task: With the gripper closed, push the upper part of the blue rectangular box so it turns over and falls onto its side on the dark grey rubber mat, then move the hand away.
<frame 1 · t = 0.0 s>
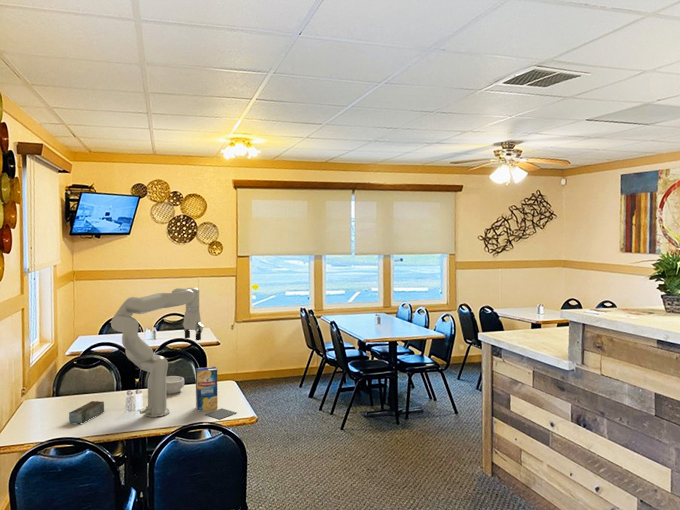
hand: (192, 339, 307), 37 cm above the table, tool pointing down, fingers open, 9 cm apart
paper bowls: (171, 392, 330), on the table
blue rectangular box: (206, 408, 299), on the table
rubber mat: (220, 414, 289), on the table
dark grey rectangular block: (87, 418, 283), on the table
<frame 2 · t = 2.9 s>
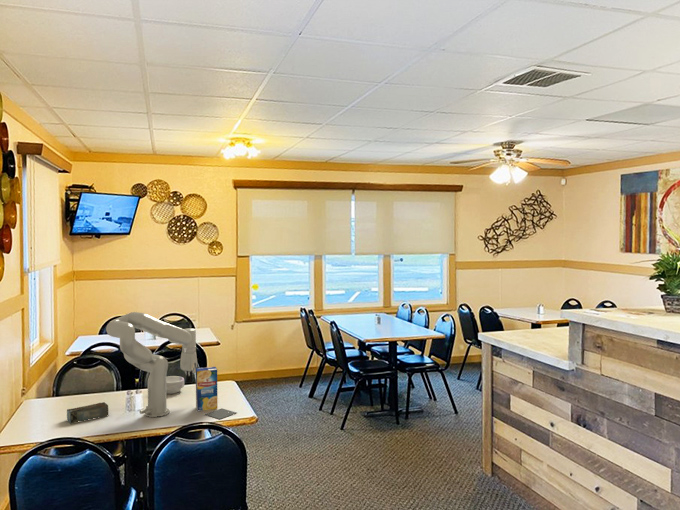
hand: (189, 381, 307), 12 cm above the table, tool pointing down, fingers closed
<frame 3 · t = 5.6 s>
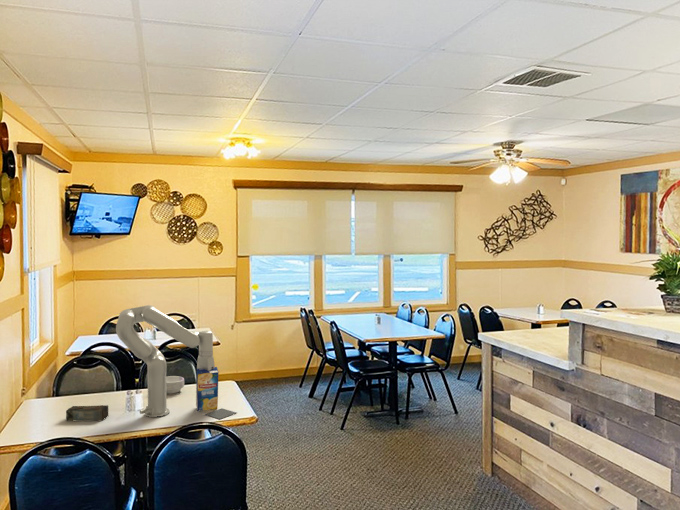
hand: (206, 386, 299), 12 cm above the table, tool pointing down, fingers closed
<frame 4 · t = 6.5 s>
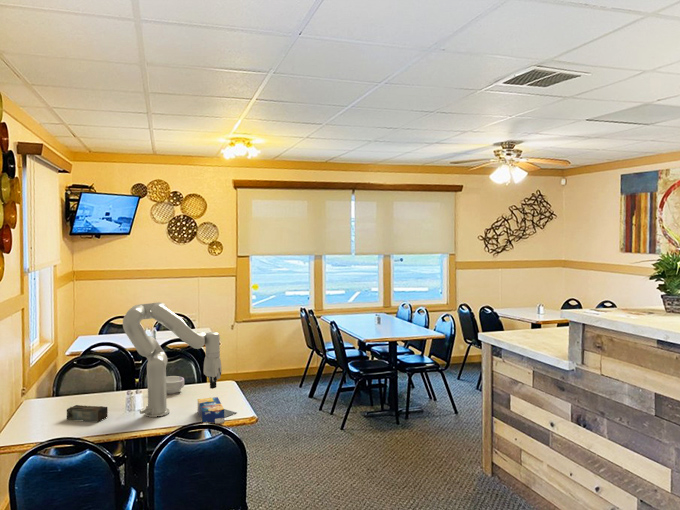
hand: (213, 387, 295), 12 cm above the table, tool pointing down, fingers closed
blue rectangular box: (207, 404, 295), point 3 cm above the table
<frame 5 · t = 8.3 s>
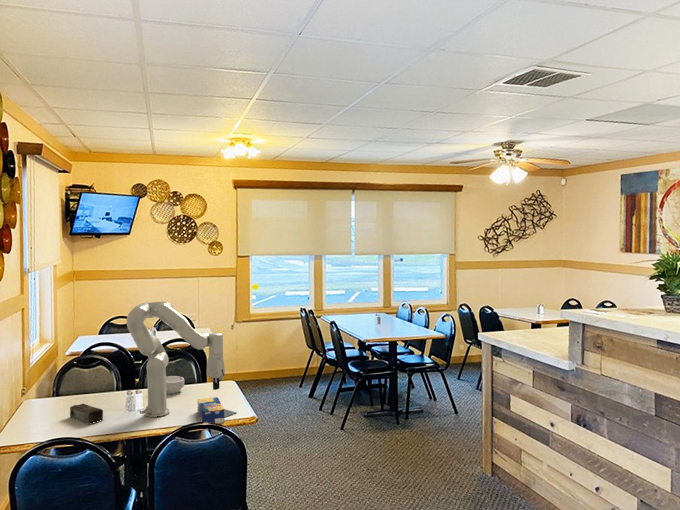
hand: (216, 389, 294), 12 cm above the table, tool pointing down, fingers closed
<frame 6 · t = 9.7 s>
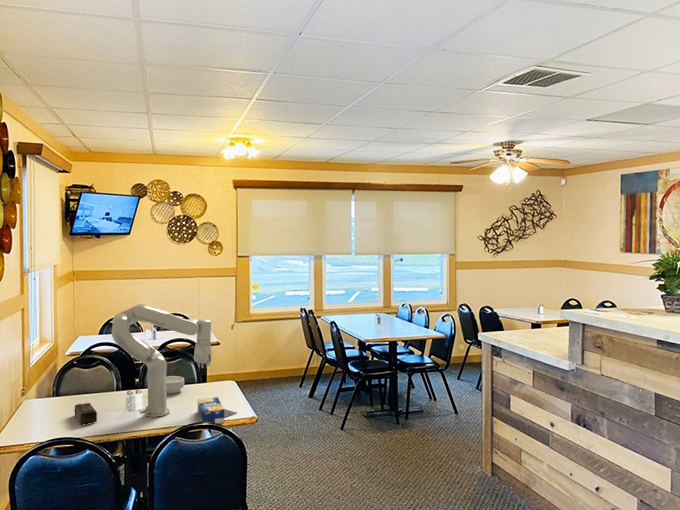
hand: (202, 374, 299), 19 cm above the table, tool pointing down, fingers closed
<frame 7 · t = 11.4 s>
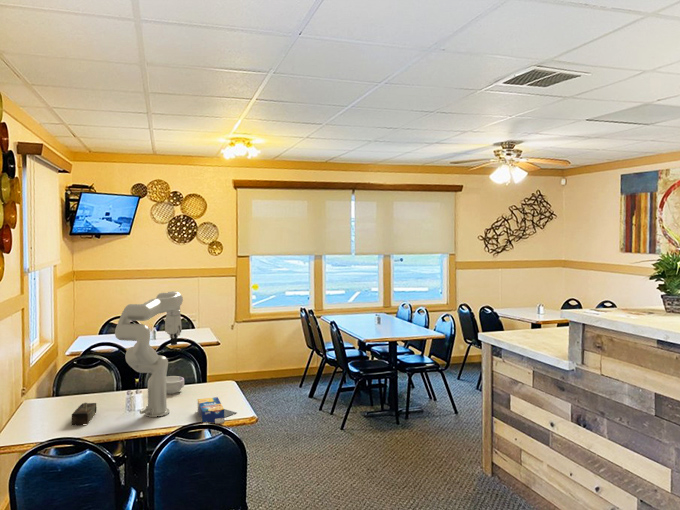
hand: (173, 344, 309), 33 cm above the table, tool pointing down, fingers closed
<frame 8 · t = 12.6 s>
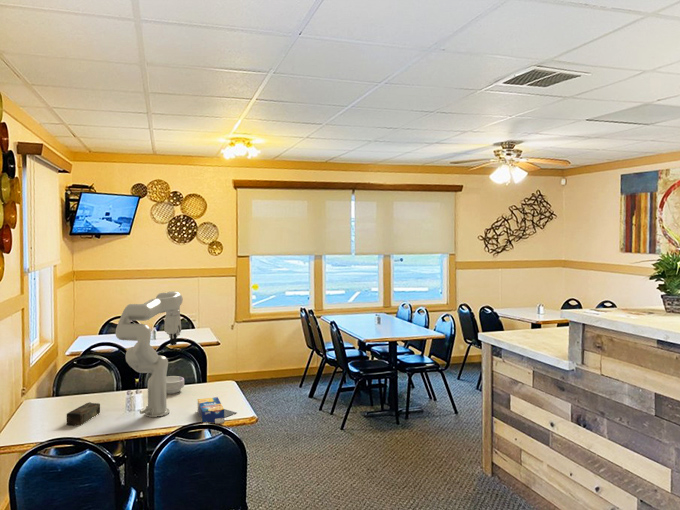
hand: (173, 344, 309), 33 cm above the table, tool pointing down, fingers closed
at the end: blue rectangular box tilted 90°; blue rectangular box inside the target area (9.3 cm from its centre), point 3.3 cm above the table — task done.
